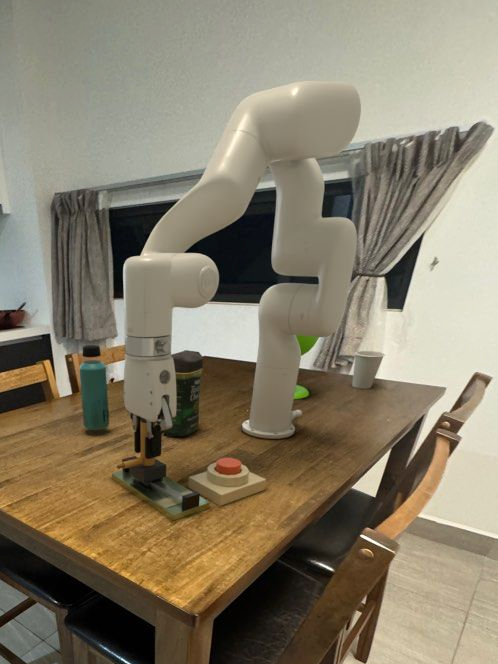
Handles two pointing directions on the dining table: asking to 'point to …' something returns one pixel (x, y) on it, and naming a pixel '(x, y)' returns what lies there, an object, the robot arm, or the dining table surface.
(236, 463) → the button
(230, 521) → the dining table surface
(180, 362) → the coffee jar
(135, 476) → the nozzle
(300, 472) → the dining table surface
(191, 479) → the button box
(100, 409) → the beverage bottle
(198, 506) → the rail
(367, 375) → the dixie cup
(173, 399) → the robot arm
